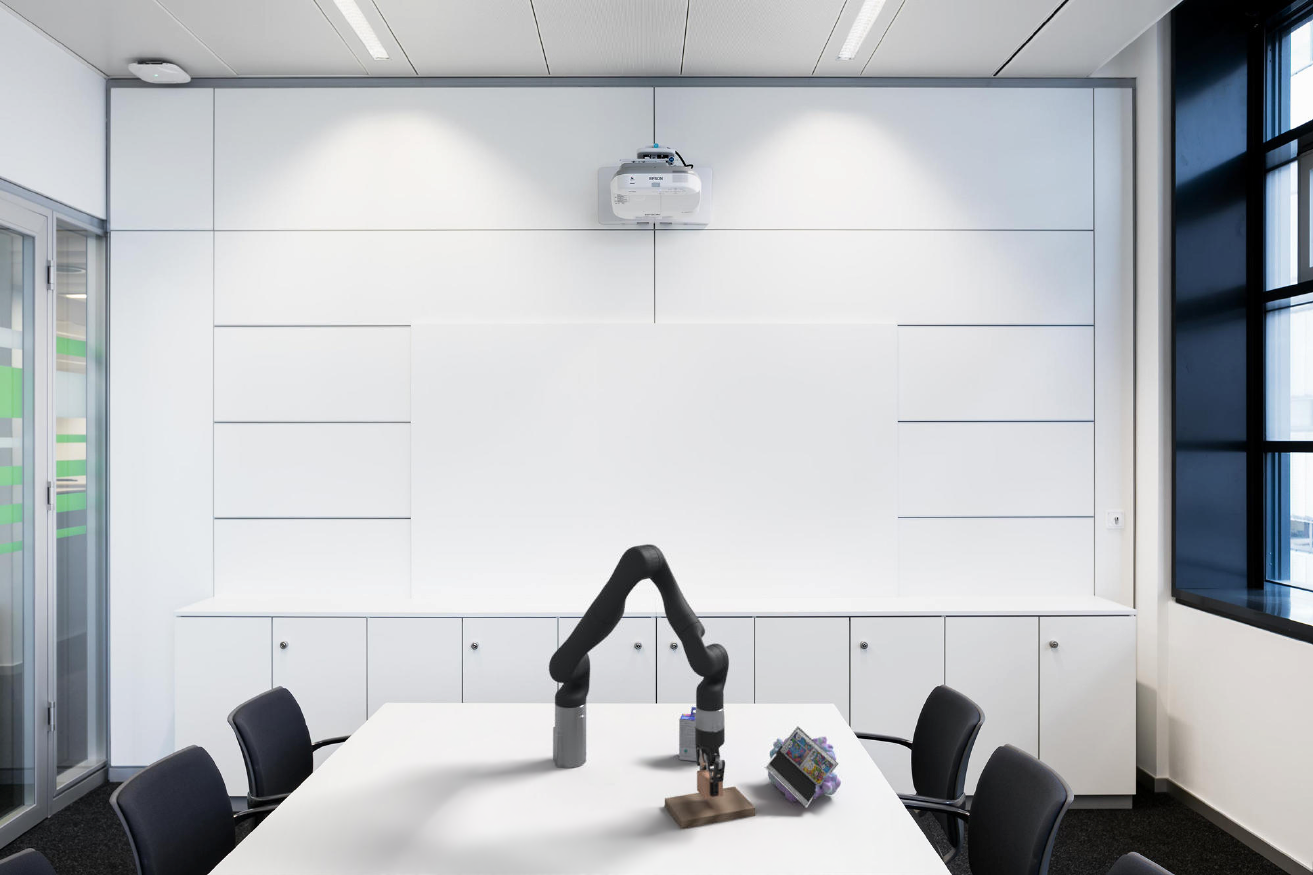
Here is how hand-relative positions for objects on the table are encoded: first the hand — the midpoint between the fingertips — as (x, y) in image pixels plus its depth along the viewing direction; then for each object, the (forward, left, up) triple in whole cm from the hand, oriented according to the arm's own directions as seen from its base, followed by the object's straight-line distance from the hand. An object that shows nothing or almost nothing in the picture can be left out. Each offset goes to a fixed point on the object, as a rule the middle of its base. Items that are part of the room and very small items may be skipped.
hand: (709, 790), depth 190 cm
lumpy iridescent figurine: (+28, +1, -5) cm, 29 cm away
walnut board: (0, 0, -5) cm, 5 cm away
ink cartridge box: (+9, +30, -5) cm, 32 cm away
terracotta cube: (0, 0, -1) cm, 1 cm away
